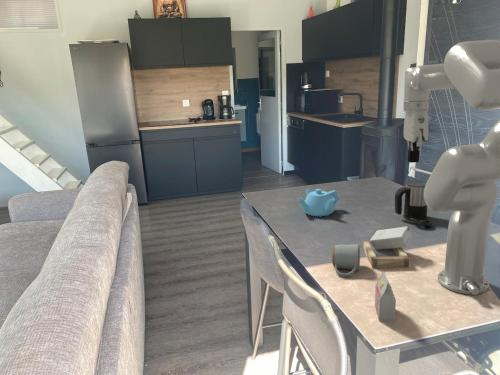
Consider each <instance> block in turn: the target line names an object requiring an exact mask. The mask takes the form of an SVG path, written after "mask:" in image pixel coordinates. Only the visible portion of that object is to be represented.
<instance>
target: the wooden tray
mask: <svg viewBox="0 0 500 375" xmlns="http://www.w3.org/2000/svg"><path fill="white" fill-rule="evenodd" d="M369 242H370V241H368V240H362V249H363V251H364V254H365V255H366V256H365V257H367V260H368V262H369V263H370V264H369V265H370V266H371V268H372V269H382V268H383V269H386V268H387V269H388V268H390V269H391V268H410V257H409V256H408V254H407V253H406V252H405V250H404V249H403V247H400V248H390V249H378V250H375V249H373V247H372V246H371V243H369Z"/></svg>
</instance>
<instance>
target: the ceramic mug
mask: <svg viewBox="0 0 500 375" xmlns="http://www.w3.org/2000/svg"><path fill="white" fill-rule="evenodd" d="M360 252H361V250H360V244H357V243H356V244H336V245H333V247H332V253H331V255H332V256H331V260H332V261H331V262H332V266H333V267H334V268H335V269H334V270H335V272H336V274H337V275H338V276H340V277H342V278H349V277H351V276H353V275H354V274H355V272H356V271H360V268H361V267H360V266H361V256H360V254H361V253H360ZM338 269H346V270H351V271H349V272H347V273H344V272H340V271H339V270H338Z"/></svg>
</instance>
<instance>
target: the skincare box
mask: <svg viewBox="0 0 500 375" xmlns="http://www.w3.org/2000/svg"><path fill="white" fill-rule="evenodd" d="M413 236H414V235H413V233H412V231H411V230H410V228H409V226H406V225H405V226H401V227H392V228H386V229H378V230H376V231H375V233H374V234H373V236H372V237H371V238H370V240H369V242H370V245H372V246H371V247H372V248H373V250H390V249H391V248H400V247H401V248H407V247H408V245H409V243H410V242H411V240H412V239H413Z"/></svg>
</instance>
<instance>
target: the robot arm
mask: <svg viewBox="0 0 500 375" xmlns="http://www.w3.org/2000/svg"><path fill="white" fill-rule="evenodd" d="M444 57H445V58H444V62H443V63H439V64H437V63H436V64H423V65H422V64H421V65H418V66H414V67H413V66H412V67H408V68H406V70H405V72H404V83H403V84H404V87H403V109H402V110H403V111H402V112H404V120H403V121H404V122H403V138H404V140H406V142H407V162H408V163H411V164H412V163H419V161H420V151H421V147H423V142H424V143H426V142H428V141H429V113H428V112H429V108H430V93H431V91H432V92H433V91H444V90H454V89H455V90H457V92H458V93H459V94H460V95H461V97H462V98H463V100H465V102H466V103H467V104H468V105H469V106H470V107H471V108H473V109H476V110H479V111H495V110H496V111H498V110H500V39H485V40H484V39H483V40H481V39H480V40H467V41H466V40H465V41H460V42H458V43H456V44H454V45H453V46H452V47H450V49H449V50H448V51H447V53H446V55H445V56H444ZM499 181H500V119H499V120H497V121H496V123H495V124H494V125H493V126H492V127H491V128H490V130H489V132H488V133H487V134H486V135H485V138H484V139H483V140H482V141H480V142H477V143H473V144H466V145H464V144H463V145H456V146H452V147H450V148H448V149H446V151H444V152H443V153H442V154H441V155H440V158H439V159H438V161H437V162H436V165H435V166H434V168H433V170H432V172H431V173H430V176H429V178H428V179H427V180H426V182H427V183H426V186H425V189H424V200H425V203H426V205H427V208H428V209H429V210H431V211H433V212H437V213H451V212H452V214H451V215H450V218H449V221H448V226H447V238H446V248H445V249H446V250H445V264H444V270H442V271H439V273H438V275H437V281H438V283H439V284H440V285H442V287H444V288H445V289H448V290H449V291H452V292H455V293H458V294H465V295H473V296H474V295H475V296H476V295H481V294H484V293H486V292H488V291H489V290H490V282H489V280H488V279H487V278H486V277H485V276H484V275H485V267H486V258H487V248H488V240H489V232H490V225H491V224H490V223H491V219H492V216H493V215H492V214H493V211H494V209H495V205H496V203H497V199H498V196H499V187H498V184H497V182H499Z"/></svg>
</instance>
